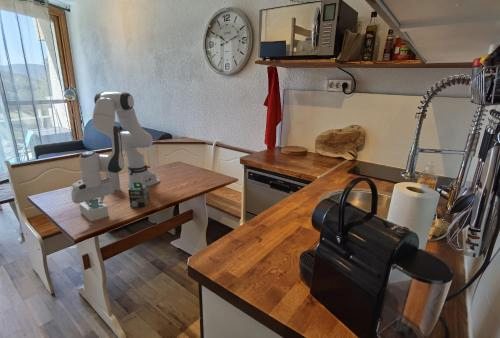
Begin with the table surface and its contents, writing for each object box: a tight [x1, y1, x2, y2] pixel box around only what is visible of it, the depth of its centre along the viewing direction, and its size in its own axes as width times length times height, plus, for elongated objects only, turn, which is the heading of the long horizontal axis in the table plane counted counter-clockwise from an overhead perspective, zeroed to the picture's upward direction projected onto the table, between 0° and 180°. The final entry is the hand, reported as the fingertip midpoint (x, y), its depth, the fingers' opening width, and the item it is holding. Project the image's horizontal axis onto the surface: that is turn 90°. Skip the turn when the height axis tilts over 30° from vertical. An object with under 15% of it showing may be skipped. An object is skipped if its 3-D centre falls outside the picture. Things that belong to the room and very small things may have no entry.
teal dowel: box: [92, 198, 99, 209], centre depth 145 cm, size 3×3×10 cm
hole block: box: [78, 199, 110, 222], centre depth 148 cm, size 9×14×6 cm, turn 51°
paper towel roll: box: [105, 172, 121, 191], centre depth 181 cm, size 7×6×21 cm
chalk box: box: [127, 183, 151, 208], centre depth 161 cm, size 9×9×15 cm
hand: (95, 205), depth 145 cm, fingers open, 4 cm apart
